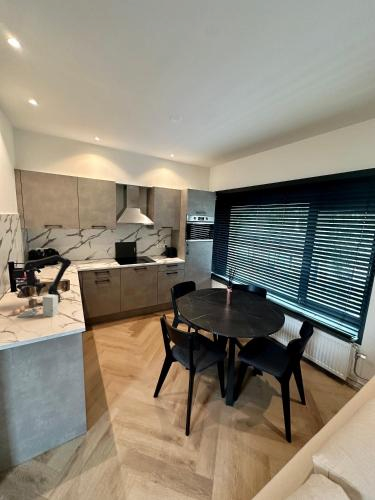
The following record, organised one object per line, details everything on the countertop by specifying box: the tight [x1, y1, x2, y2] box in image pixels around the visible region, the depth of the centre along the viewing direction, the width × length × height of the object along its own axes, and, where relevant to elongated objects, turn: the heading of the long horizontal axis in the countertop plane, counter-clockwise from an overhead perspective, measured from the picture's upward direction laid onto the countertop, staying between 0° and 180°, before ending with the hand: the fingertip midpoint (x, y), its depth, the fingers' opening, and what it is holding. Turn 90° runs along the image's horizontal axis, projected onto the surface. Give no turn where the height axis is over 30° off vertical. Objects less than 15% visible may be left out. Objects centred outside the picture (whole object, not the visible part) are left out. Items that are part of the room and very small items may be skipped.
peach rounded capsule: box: [17, 305, 25, 314], centre depth 158 cm, size 4×4×4 cm
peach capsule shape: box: [12, 307, 21, 317], centre depth 153 cm, size 4×4×4 cm
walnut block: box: [27, 298, 38, 309], centre depth 166 cm, size 4×4×6 cm
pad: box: [16, 310, 39, 319], centre depth 154 cm, size 9×9×1 cm
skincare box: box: [42, 293, 59, 318], centre depth 154 cm, size 8×6×15 cm
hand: (32, 296), depth 166 cm, fingers open, 9 cm apart
